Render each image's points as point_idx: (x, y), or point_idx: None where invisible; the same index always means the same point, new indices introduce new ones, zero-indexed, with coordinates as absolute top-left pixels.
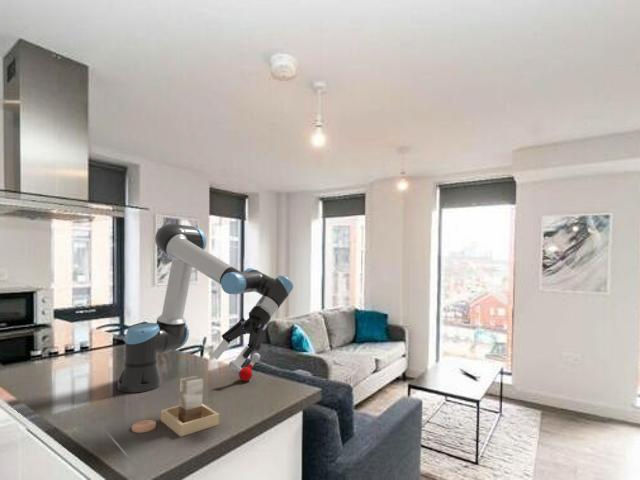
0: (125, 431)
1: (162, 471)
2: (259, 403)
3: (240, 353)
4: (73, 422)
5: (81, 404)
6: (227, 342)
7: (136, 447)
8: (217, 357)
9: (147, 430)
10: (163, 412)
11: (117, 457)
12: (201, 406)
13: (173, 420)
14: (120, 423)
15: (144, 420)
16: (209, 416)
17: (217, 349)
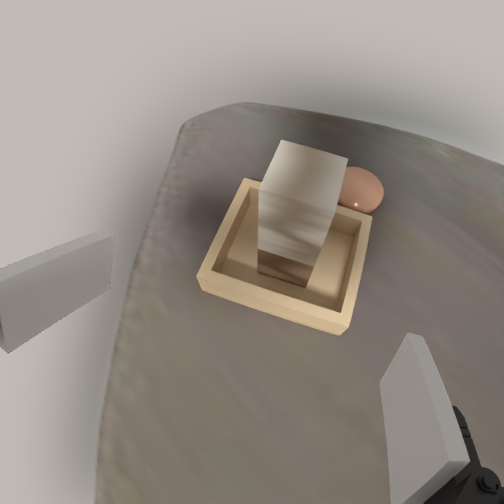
0: (373, 172)
1: (187, 123)
2: (189, 497)
3: (54, 256)
4: (467, 166)
5: None
6: (413, 492)
7: None
8: (386, 382)
9: None
10: (356, 212)
11: (288, 118)
12: (258, 247)
13: None
14: (416, 191)
15: (379, 200)
16: (213, 248)
17: (419, 371)
